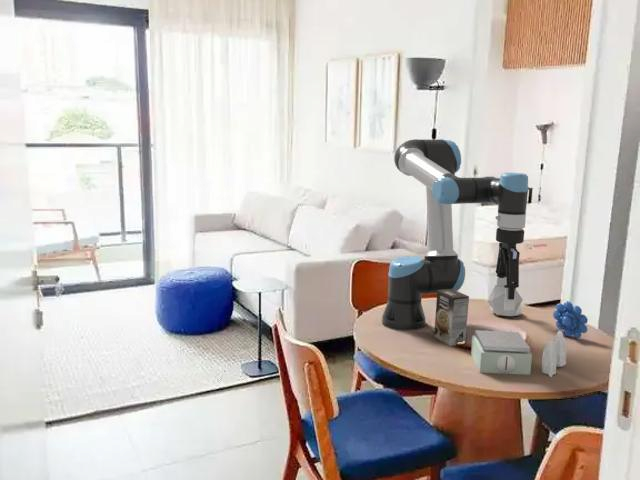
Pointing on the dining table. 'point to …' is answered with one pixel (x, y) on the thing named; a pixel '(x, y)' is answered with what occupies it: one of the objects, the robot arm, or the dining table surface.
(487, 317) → the dining table surface
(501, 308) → the die
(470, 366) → the dining table surface
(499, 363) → the block
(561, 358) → the salt and pepper shakers
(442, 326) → the coffee box
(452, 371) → the dining table surface
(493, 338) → the pan
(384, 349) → the dining table surface
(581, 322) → the grapes
